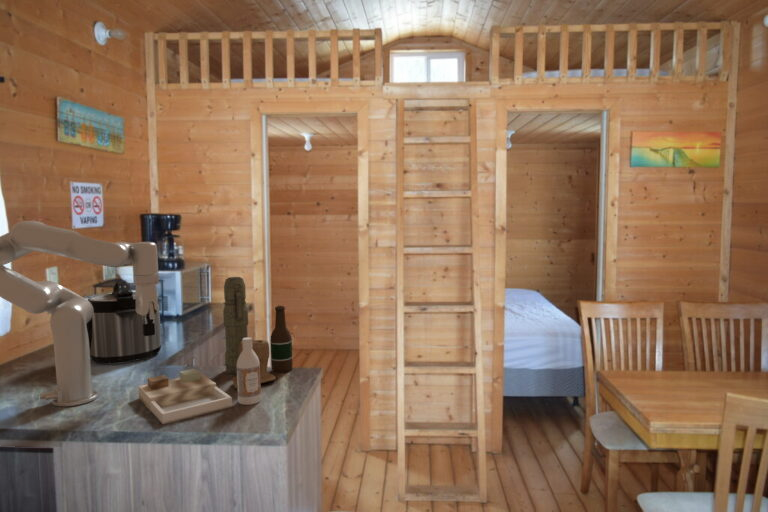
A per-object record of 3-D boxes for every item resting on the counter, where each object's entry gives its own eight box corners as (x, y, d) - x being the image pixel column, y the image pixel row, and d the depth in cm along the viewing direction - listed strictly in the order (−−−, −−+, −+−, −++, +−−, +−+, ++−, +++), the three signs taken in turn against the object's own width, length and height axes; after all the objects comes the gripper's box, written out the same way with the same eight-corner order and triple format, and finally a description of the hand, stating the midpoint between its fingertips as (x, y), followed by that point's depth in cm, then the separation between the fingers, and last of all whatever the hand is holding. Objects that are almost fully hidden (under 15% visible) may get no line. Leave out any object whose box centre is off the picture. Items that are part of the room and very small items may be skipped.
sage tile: (184, 382, 167) (184, 375, 167) (180, 378, 171) (179, 371, 171) (200, 379, 170) (199, 372, 170) (195, 375, 174) (194, 368, 174)
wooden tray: (150, 411, 154) (149, 398, 153) (139, 398, 164) (138, 386, 164) (216, 395, 166) (216, 383, 166) (201, 384, 177) (201, 373, 177)
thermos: (233, 376, 185) (229, 280, 182) (220, 369, 194) (216, 277, 191) (256, 371, 190) (252, 278, 187) (242, 364, 200) (239, 275, 197)
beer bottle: (283, 365, 198) (281, 303, 196) (296, 369, 193) (294, 306, 191) (267, 370, 192) (264, 306, 190) (280, 374, 187) (278, 309, 185)
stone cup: (265, 374, 187) (264, 334, 186) (279, 383, 177) (278, 340, 176) (224, 383, 178) (222, 340, 177) (237, 392, 168) (235, 347, 167)
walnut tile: (152, 389, 161) (151, 381, 160) (147, 385, 165) (147, 377, 164) (168, 386, 164) (168, 378, 164) (164, 382, 168) (163, 374, 167)
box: (163, 424, 143) (162, 414, 143) (150, 411, 153) (150, 401, 153) (232, 407, 156) (231, 397, 156) (216, 395, 166) (216, 386, 166)
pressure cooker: (113, 347, 230) (109, 276, 227) (175, 347, 228) (171, 276, 226) (68, 367, 200) (63, 286, 197) (138, 367, 198) (134, 286, 196)
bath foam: (242, 407, 155) (239, 342, 154) (235, 400, 161) (232, 337, 160) (264, 402, 159) (261, 338, 158) (256, 395, 165) (254, 334, 163)
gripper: (128, 278, 171) (131, 333, 173) (139, 283, 159) (142, 341, 161) (152, 276, 176) (155, 329, 177) (164, 280, 164) (167, 337, 166)
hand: (149, 335), depth 169 cm, fingers closed
